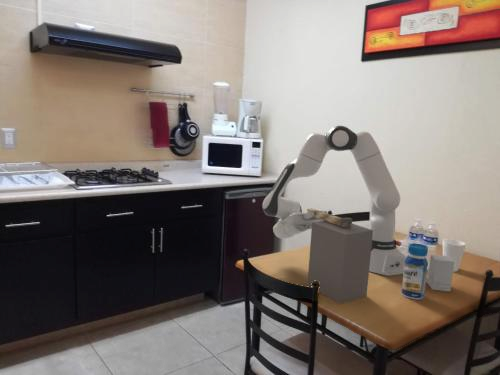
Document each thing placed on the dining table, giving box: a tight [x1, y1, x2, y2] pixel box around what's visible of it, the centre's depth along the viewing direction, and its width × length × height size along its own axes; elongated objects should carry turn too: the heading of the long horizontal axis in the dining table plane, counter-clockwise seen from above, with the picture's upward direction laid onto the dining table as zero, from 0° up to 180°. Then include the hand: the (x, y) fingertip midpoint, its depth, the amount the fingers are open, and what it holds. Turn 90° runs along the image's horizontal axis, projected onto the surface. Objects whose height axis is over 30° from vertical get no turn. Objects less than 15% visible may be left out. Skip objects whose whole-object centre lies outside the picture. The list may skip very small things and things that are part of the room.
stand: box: [307, 221, 373, 305], centre depth 151 cm, size 18×14×26 cm
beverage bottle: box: [400, 243, 429, 300], centre depth 150 cm, size 8×8×20 cm
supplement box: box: [426, 254, 454, 292], centre depth 160 cm, size 7×7×13 cm
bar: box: [306, 208, 353, 228], centre depth 155 cm, size 22×4×3 cm, turn 32°
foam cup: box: [441, 238, 467, 273], centre depth 181 cm, size 10×9×13 cm
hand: (318, 213), depth 160 cm, fingers open, 3 cm apart
